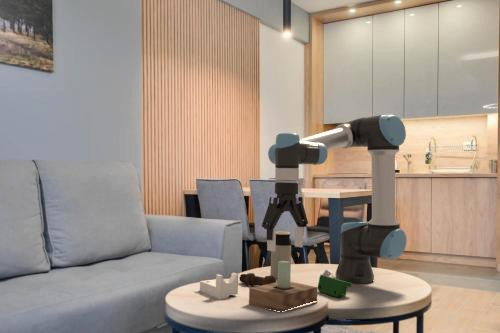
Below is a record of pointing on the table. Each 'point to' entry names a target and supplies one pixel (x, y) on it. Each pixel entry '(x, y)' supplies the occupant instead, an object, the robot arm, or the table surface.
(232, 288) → the bracket
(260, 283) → the bolt
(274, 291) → the board
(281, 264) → the peg
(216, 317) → the table surface
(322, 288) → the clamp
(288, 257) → the travel mug
